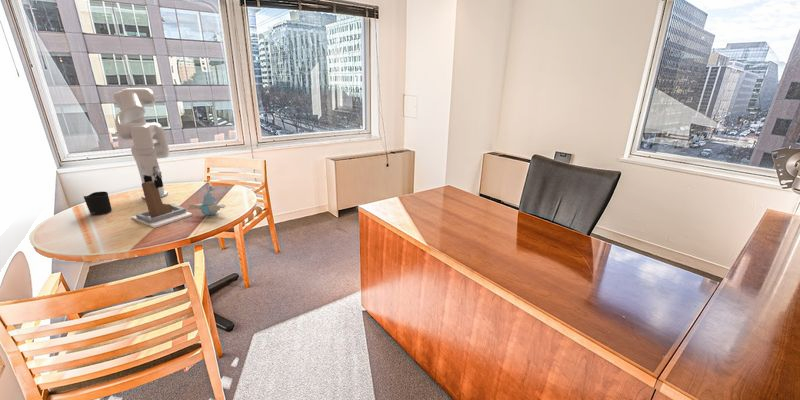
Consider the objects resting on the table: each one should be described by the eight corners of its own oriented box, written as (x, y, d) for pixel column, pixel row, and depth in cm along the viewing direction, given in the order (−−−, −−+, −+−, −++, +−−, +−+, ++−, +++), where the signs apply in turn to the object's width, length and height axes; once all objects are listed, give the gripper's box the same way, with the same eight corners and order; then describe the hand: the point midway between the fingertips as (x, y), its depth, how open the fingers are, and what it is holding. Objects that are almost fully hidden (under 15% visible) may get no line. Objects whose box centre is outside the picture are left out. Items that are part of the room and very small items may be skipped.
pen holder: (88, 212, 175) (82, 194, 172) (111, 207, 182) (105, 190, 178) (90, 217, 169) (84, 198, 166) (114, 212, 176) (108, 194, 172)
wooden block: (165, 211, 175) (157, 178, 169) (172, 212, 174) (164, 179, 168) (150, 217, 167) (140, 183, 160) (157, 218, 166) (148, 184, 160)
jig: (131, 218, 168) (130, 213, 167) (169, 207, 183) (168, 202, 182) (154, 228, 158) (153, 222, 157) (192, 215, 173) (191, 210, 172)
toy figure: (232, 211, 178) (227, 184, 173) (220, 219, 169) (215, 191, 163) (203, 209, 180) (197, 183, 175) (190, 217, 170) (183, 189, 165)
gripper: (127, 150, 160) (136, 184, 166) (146, 155, 152) (155, 190, 158) (145, 147, 166) (153, 180, 172) (164, 152, 158) (172, 186, 164)
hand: (154, 185), depth 165 cm, fingers open, 9 cm apart
